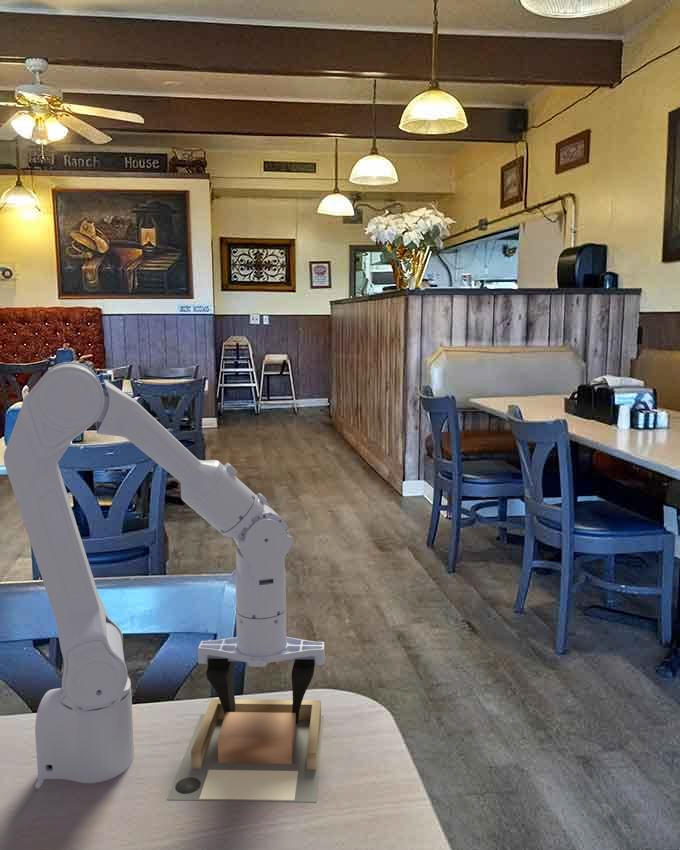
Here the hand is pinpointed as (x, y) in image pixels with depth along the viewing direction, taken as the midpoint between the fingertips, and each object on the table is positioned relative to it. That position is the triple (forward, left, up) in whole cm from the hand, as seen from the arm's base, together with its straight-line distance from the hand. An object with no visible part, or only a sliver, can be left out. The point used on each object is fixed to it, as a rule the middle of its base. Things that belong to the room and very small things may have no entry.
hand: (263, 718), depth 82 cm
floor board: (0, -5, -2) cm, 5 cm away
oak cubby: (0, -2, -1) cm, 3 cm away
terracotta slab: (0, -4, -1) cm, 4 cm away
